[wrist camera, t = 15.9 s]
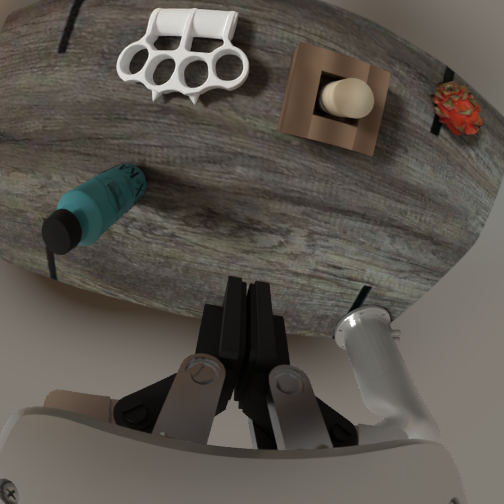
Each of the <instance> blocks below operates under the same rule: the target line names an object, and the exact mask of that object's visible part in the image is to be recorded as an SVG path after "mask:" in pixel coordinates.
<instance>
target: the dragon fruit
mask: <svg viewBox="0 0 504 504" xmlns="http://www.w3.org/2000/svg"><path fill="white" fill-rule="evenodd" d="M435 94H436V95H434V93H433V92H432V93H431V94H430V98H431V100H432V101H433V102H434V103H435V104H436V105H437V107H436V106H434V111H435V113H436V114H437V115H439V119H438V120H439V122H440V123H445V124H446V125H447V127H448V129H449V130H450V131H451V132H452V133H454V134H456V135H459V136H461V135H467V134H468V135H469V134H472V135H473V134H476V133H477V132H478V131H479V128H480V127H481V125H482V124H483V120H482V119H481V117H480V116H479V114H478V112H479V111H481V108H480V105H479V104H478V103H477V102H476V101H475V99H474V97H473V96H472V93H471V92H470V91H469V90H468V86H467V85H462V86H461V87H460V86H459V85H458V84H457V83H456V82H455V81H450V82H448V83H445V84H444V83H442V82H440V83H438V86H437V91H436V92H435Z"/></svg>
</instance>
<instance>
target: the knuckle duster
mask: <svg viewBox="0 0 504 504" xmlns="http://www.w3.org/2000/svg"><path fill="white" fill-rule="evenodd" d="M238 15H239V13H236V11H230V12H228V11H217V10H203V9H197V8H192V9H161V8H157V9H155V10H154V11H153V12H152V14H151V16H150V19H149V23H148V28H147V32H146V35H145V36H144V37H143V38H142V39H141V40H140V41H138V42H135V43H132V44H130V45H129V46H128V47H126V48H125V49H124V50H123V51H122V53H121V54H120V56H119V58H118V61H117V72H118V74H119V76H120V78H121V79H122V80H124V81H126V82H130V83H137V82H142V83H143V84H144V85H145V86H146V87H147V88H148V89H150V90H152V95H153V102H154V101H155V100H156V99H157V98H158V97H159V96H160V95H161V94H168V93H171V92H181V93H183V94H184V95H187V96H189V97H190V99H191V100H192V102H193V103H194V105H196V102H197V100H198V98H199V96H200V94H204V93H205V92H207V91H209V90H211V89H215V88H222V89H226V90H228V91H231V90H234V89H237V88H238V87H240V86H241V85H242V84H243V83H244V82H245V81H246V79H247V77H248V74H249V61H248V58H247V56H246V55H245V53H244V52H243V51H242V50H240V49H239V48H237V47H235V46H233V45H232V43H231V40H232V39H233V36H234V32H235V29H236V25H237V20H238ZM159 36H182V39H181V43H180V46H179V48H178V49H176V50H174V51H164V50H157V48H155V47H154V42H155V41H156V40H157V39H158V37H159ZM193 37H204V38H215V39H223V41H224V45H223V46H221V47H219V48H217V49H216V50H214V51H213V52H212V53H202V52H190V49H191V45H192V41H193ZM142 49H148V52H149V56H148V60H147V62H146V63H145V65H144V67H143V68H142V69H141V70H140V71H139V72H138V73H136V74H131V72H130V70H129V65H130V62H131V60H132V58H133V56H134V55H135V54H136V53H137V52H138V51H140V50H142ZM227 54H233V55H236V56H238V57H239V58H240V59H241V60H242V62H243V72H242V74H241V75H240V76H239V77H238V78H237V79H235V80H232V81H223V80H221V79H219V78H218V77H217V75H216V62H217V61H218V59H219V58H220V57H222V56H224V55H227ZM165 59H174V60H175V63H176V68H175V71H174V73H173V75H172V76H171V78H170V80H169V81H168V82H166V83H165V84H163V85H156V84H155V82H154V80H153V73H154V71H155V69H156V67H157V65H158V64H159V63H160V62H161V61H163V60H165ZM197 60H200V61H204V62H206V63H207V65H208V71H209V76H208V79H207V81H206V82H205V83H204V84H203V85H202V86H200V87H197V88H189V87H188V86H187V85H186V83H185V79H184V71H185V68H186V67H187V65H188V64H190V63H191V62H193V61H197Z"/></svg>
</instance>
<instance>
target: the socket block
mask: <svg viewBox="0 0 504 504" xmlns="http://www.w3.org/2000/svg"><path fill="white" fill-rule="evenodd" d="M390 74H391V73H389V72H387V71H385V70H382V69H380V68H378V67H375V66H373V65H370V64H368V63H365V62H363V61H360V60H357V59H354V58H352V57H349V56H346V55H343V54H340V53H337V52H334V51H331V50H327V49H324V48H321V47H317V46H313V45H310V44H306V43H302V42H301V43H300V44H299V45H298V47H297V48H296V49H295V50H294V52H293V54H292V59H291V64H290V69H289V74H288V79H287V84H286V89H285V94H284V99H283V104H282V109H281V114H280V119H279V123H278V128H277V130H278V131H280V132H282V133H286V134H290V135H295V136H299V137H304V138H308V139H312V140H316V141H320V142H324V143H328V144H332V145H336V146H339V147H343V148H346V149H350V150H353V151H356V152H360V153H363V154H366V155H369V156H372V157H373V153H374V149H375V145H376V141H377V137H378V133H379V128H380V124H381V120H382V115H383V111H384V106H385V101H386V96H387V91H388V85H389V80H390ZM347 78H357V79H360V80H362V81H364V82H365V83H366V84H367V85H368V86H369V87H370V89H371V90H372V93H373V96H374V105H373V108H372V110H371V112H370V113H369V114H368V115H366V116H365V117H362V118H349V117H335V116H330V115H324V114H321V113H319V112H318V111H317V110H316V109H315V108H314V105H315V101H316V96H317V91H318V87H319V86H322V85H325V84H328V83H330V82H333V81H340V80H343V79H347Z"/></svg>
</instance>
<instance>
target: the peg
mask: <svg viewBox="0 0 504 504" xmlns="http://www.w3.org/2000/svg"><path fill="white" fill-rule="evenodd" d="M373 105H374V96H373V93H372V90H371V89H370V87H369V86H368V85H367V84H366V83H365V82H364V81H362V80H360V79H357V78H347V79H343V80H340V81H333V82H330V83H328V84H325V85H322V86H319V87H318V91H317V96H316V101H315V105H314V108H315V109H316V110H317V111H318V112H319V113H321V114H324V115H330V116H335V117H349V118H362V117H365V116H366V115H368V114H369V113H370V112H371V110H372V108H373Z"/></svg>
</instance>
